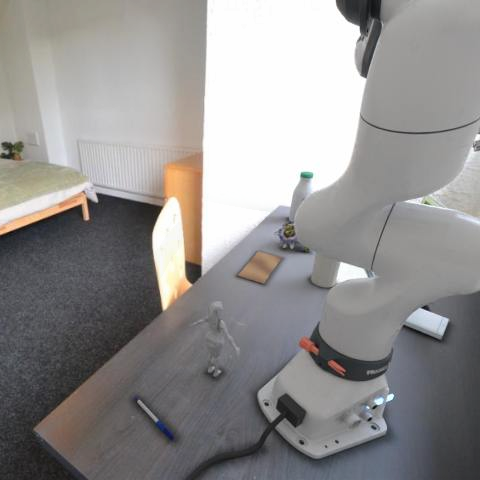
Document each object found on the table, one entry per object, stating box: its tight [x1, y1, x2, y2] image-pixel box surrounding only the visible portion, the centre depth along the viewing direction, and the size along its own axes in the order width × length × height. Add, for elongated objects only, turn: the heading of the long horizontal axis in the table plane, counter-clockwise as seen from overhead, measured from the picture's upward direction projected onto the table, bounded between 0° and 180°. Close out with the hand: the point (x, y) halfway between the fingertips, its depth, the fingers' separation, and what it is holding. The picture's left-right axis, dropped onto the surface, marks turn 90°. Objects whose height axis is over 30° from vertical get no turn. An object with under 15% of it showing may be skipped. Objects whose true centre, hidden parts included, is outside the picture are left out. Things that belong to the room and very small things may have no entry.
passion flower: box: [273, 219, 311, 253], centre depth 116 cm, size 11×11×12 cm
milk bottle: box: [288, 171, 315, 221], centre depth 133 cm, size 8×8×20 cm
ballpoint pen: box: [134, 397, 175, 441], centre depth 60 cm, size 10×1×1 cm, turn 42°
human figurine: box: [189, 300, 243, 378], centre depth 64 cm, size 12×4×18 cm, turn 45°
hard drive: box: [403, 307, 450, 340], centre depth 82 cm, size 2×8×12 cm
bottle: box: [310, 252, 342, 288], centre depth 93 cm, size 6×6×18 cm
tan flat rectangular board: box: [237, 251, 283, 285], centre depth 105 cm, size 18×8×1 cm, turn 146°
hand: (448, 155), depth 67 cm, fingers open, 8 cm apart
